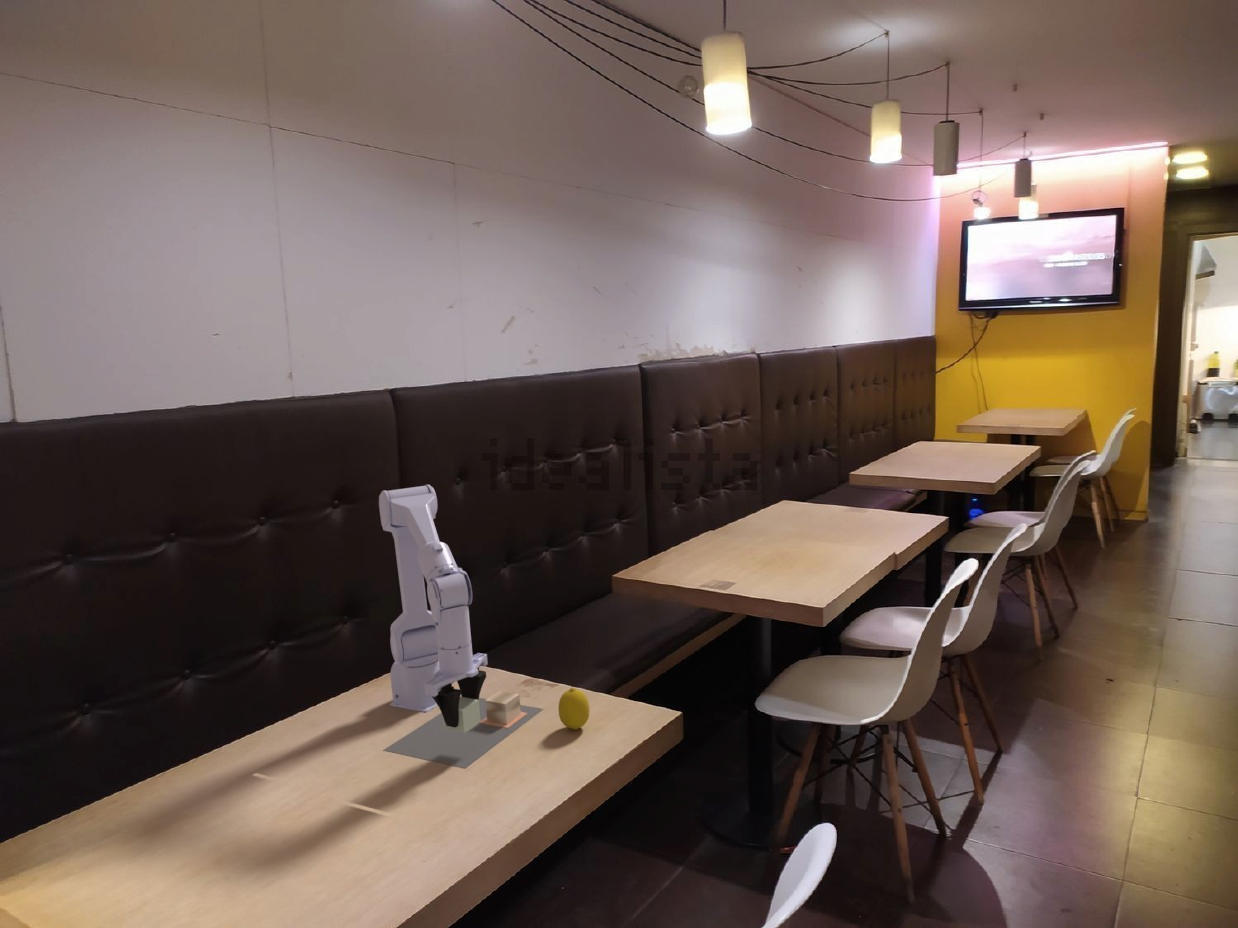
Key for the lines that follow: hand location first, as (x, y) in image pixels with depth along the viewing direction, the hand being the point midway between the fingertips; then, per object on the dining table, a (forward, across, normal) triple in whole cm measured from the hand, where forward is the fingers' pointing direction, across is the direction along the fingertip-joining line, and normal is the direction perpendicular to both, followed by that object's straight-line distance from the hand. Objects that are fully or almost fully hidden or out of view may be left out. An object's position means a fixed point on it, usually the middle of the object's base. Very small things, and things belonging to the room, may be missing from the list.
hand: (461, 719), depth 144 cm
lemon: (+6, +14, -14) cm, 21 cm away
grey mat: (+6, +7, +5) cm, 10 cm away
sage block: (+1, 0, 0) cm, 1 cm away
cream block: (+6, +13, +1) cm, 14 cm away
